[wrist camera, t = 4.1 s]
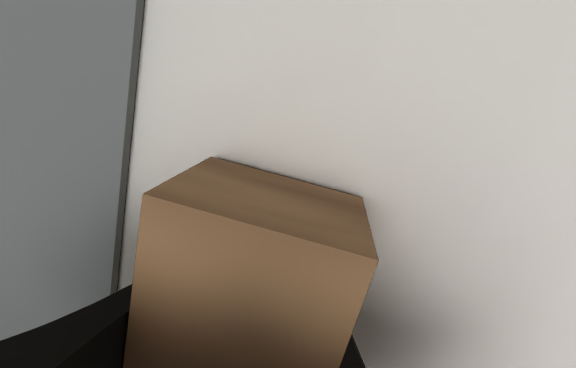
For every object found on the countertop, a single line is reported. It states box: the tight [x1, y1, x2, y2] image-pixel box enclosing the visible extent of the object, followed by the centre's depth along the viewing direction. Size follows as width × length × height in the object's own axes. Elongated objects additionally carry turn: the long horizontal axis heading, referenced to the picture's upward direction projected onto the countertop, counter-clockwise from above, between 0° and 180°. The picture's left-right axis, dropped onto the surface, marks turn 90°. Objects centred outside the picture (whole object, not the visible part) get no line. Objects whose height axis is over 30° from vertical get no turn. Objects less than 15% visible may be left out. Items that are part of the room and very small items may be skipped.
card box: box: [123, 157, 379, 368], centre depth 10 cm, size 9×5×4 cm, turn 166°
